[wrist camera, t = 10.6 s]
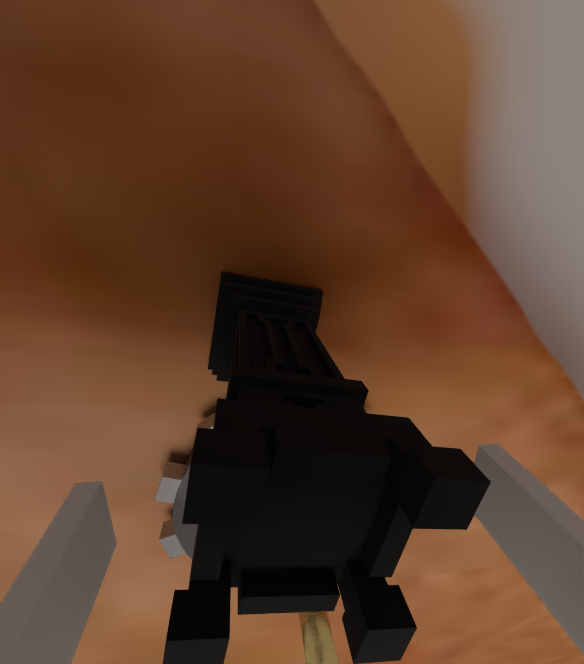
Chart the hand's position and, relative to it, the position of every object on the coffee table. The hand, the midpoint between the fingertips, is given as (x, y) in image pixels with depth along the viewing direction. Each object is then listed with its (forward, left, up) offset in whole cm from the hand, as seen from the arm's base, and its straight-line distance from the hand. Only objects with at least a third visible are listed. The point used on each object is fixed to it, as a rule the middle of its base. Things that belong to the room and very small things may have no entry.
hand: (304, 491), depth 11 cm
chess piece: (0, 0, -17) cm, 17 cm away
